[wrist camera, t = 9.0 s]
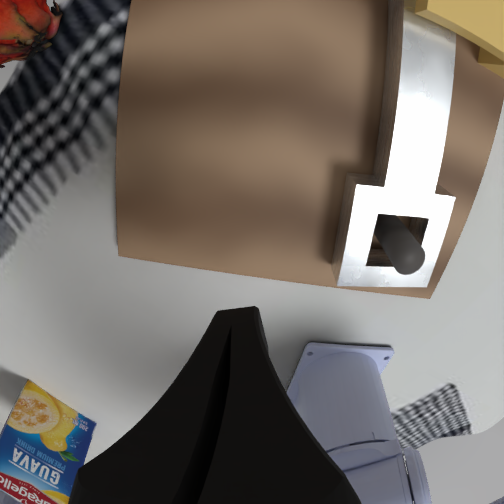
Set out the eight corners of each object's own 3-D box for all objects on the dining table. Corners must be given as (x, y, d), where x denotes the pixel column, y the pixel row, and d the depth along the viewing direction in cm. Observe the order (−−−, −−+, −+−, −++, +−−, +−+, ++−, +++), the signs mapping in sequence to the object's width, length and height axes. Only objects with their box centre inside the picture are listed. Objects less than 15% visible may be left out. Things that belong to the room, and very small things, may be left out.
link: (415, 269, 20) (426, 287, 18) (330, 266, 20) (337, 286, 18) (459, 9, 11) (478, 5, 9) (361, -22, 11) (373, -33, 9)
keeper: (504, 78, 13) (551, 89, 9) (388, 21, 12) (426, 9, 8) (509, 38, 11) (556, 42, 7) (394, -24, 11) (432, -45, 7)
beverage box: (81, 432, 37) (46, 555, 18) (19, 392, 34) (-31, 515, 15) (97, 423, 35) (59, 564, 16) (27, 378, 31) (-31, 520, 12)
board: (424, 290, 22) (451, 336, 18) (123, 248, 21) (94, 293, 16) (504, 34, 12) (555, 37, 8) (152, -59, 10) (120, -92, 6)
